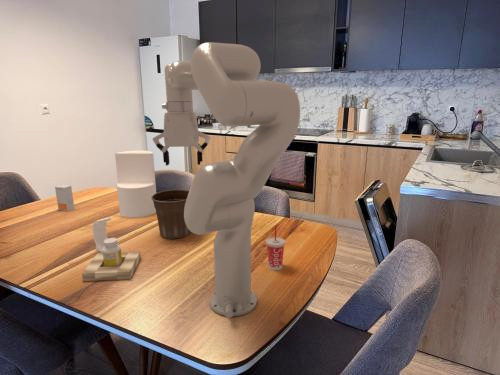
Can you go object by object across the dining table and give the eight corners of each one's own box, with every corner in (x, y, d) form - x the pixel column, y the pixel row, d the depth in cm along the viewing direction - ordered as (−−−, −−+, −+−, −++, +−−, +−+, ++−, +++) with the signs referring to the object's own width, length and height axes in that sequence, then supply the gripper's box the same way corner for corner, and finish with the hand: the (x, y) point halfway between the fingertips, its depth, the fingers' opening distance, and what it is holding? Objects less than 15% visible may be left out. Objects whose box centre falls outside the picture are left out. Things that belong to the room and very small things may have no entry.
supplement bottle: (117, 262, 116) (113, 235, 114) (126, 267, 113) (123, 239, 110) (101, 269, 112) (97, 240, 110) (110, 274, 109) (106, 245, 106)
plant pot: (183, 244, 131) (180, 203, 127) (146, 238, 136) (142, 199, 132) (202, 228, 146) (200, 191, 142) (168, 224, 151) (166, 188, 147)
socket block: (130, 279, 107) (129, 271, 106) (82, 281, 106) (81, 273, 105) (140, 258, 120) (140, 251, 119) (98, 259, 119) (97, 253, 118)
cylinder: (128, 205, 176) (122, 150, 169) (162, 205, 175) (157, 150, 168) (113, 217, 159) (106, 156, 152) (151, 217, 159) (146, 156, 151)
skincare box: (58, 210, 170) (54, 186, 166) (65, 207, 174) (61, 184, 170) (68, 211, 168) (64, 187, 165) (75, 208, 172) (71, 185, 169)
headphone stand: (102, 253, 124) (97, 221, 121) (94, 248, 128) (90, 217, 125) (114, 248, 127) (110, 217, 124) (107, 244, 131) (103, 214, 128)
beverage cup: (264, 270, 111) (264, 229, 107) (266, 261, 117) (266, 222, 113) (284, 272, 110) (285, 230, 106) (285, 262, 116) (285, 223, 112)
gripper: (147, 108, 100) (152, 167, 104) (208, 108, 101) (211, 166, 106) (152, 107, 107) (157, 162, 112) (209, 107, 108) (211, 161, 113)
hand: (183, 164), depth 109 cm, fingers open, 9 cm apart
